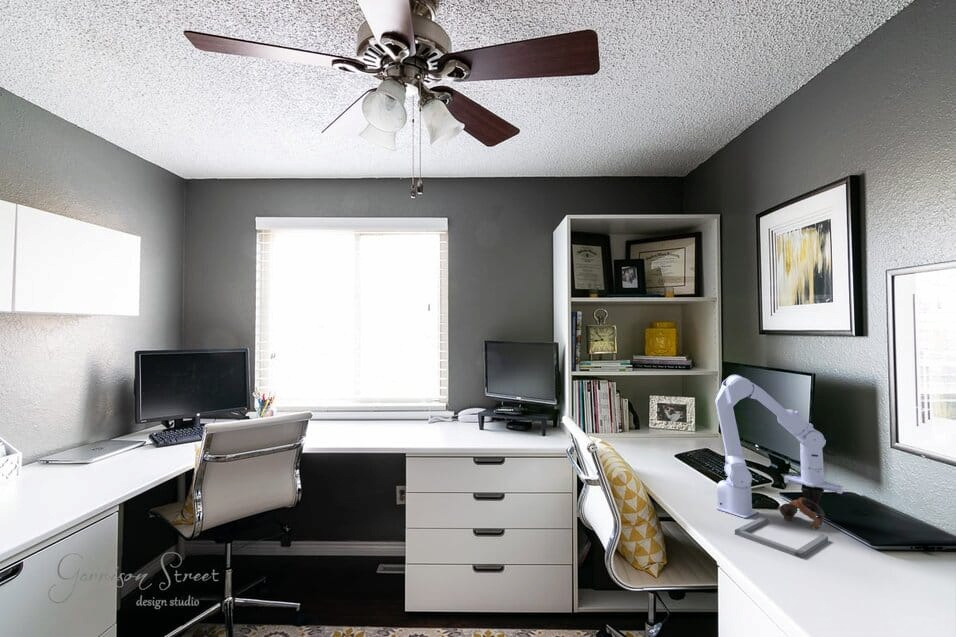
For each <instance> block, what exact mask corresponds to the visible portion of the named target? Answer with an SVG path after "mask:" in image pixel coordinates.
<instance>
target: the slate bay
mask: <svg viewBox="0 0 956 637" xmlns="http://www.w3.org/2000/svg"><path fill="white" fill-rule="evenodd" d="M767 523H769V517H766V516H764V515H763V516H761V517H758V518H756V519H755V520H752V521H750V522H749V523H746V524H744V525H742V526H740V527H738V528H736V529H734V535H736V536H739V537H742V538H744V539H747V540H750V541H753V542H755V543H758V544H762V545H764V546H766V547H770V548H772V549H773V550H774V549H775V550H778V551H780V552H782V553H786V554H789V555H792V556H794V557H797V558H800V559H803V558H804V557H806V556H807V555H809V554H811V553H812V552H813V551H815V550H816V549H819V547H821V546H823V545H824V544H826V543H827V542H829V536H828V535H824V534H821V535H819V536H817V537H816V538H814V539H812V540H810V541H809V542H807V543H805V544H804V545H802V546H800V547H799V548H798V549H797V548H793V547H791V546H789V545H785V544H782V543H780V542H776V541H773V540H771V539H768V538H766V537H765V538H764V537H762V536H759V535H756V534H755V533H754V534H753V533H751V531H753V530H756V529H757V528H759V527H761V526H763V525H765V524H767Z"/></svg>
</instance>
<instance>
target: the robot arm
mask: <svg viewBox="0 0 956 637" xmlns="http://www.w3.org/2000/svg"><path fill="white" fill-rule="evenodd" d="M745 398H749V399H753V400H757V401H758V402H759V403H761V405H763V406H764V407H765V408H767V409H768V410H769V411H770V412H772V413H773V415H775V416H776V419H777V423H778V424H780V425H781V427H783V428H784V429H786V430H787V431H788V432H789V433H790V434H791V435H793V437H795V438H796V440H797V441H798V442H799V443H800V444H799V446H800V447H799V450H800V451H799V456H800V457H799V458H800V459H799V460H800V476H795V475H794V476H792V475H787V474H786V475H785V476H783V478H784V484H785V483H786V484H794V485H800V486H801V488H800V489H801V492H802V493H803V495H804V498H806V499H809V500H811V501H813V502H814V503H816V504H817V505H818V506H819V502H820V500H821V497H822V496H823V494H824V492H825V491H829V492H833V493H837V494H840V495H842V494H843V492H844V491H843V490H844V488H843V485H840V484H836V483H832V482H830V481H825V474H824V453H823V448H824V447H825V446H826V442H827V440H826V439H825V437H824V434H823V433H822V432H820V431H819V430H817V429H815V428H814V425H813V423H810V422H808V421H806V420H805V419H804V418H803V417H801V413H800V412H799V411H798V410H795V411H794V410H793V409H786V408H784V407H783V406H782V405H781V404H780V403H779V402H778V401H776V400H775V399H774V398H773V397H772V396H771V395H769V394H768V392H766V391H765V390H764V388H761V387H760V386H758V385H757V384H755V383H754V382H752V381H751V380H750V379H748V378H746V377H743V376H741V375H739V374H731V375H729V376H728V377H727V378H726V379H724V380H723V381H722V382H721V387H720V389H719V391H718V393H717V395H716V398H715V399H714V400H715V402H714V403H715V407H716V412H717V418H718V422H719V427H720V432H721V437H722V438H721V439H722V442H723V447H724V451H725V453H724V454H725V456H724V459H725V463H724V464H725V465H724V469H723V471H724V473H725V474H726V476H727V477H726V478H725V479H726V480H724V479H722V480H720V481H718V484H717V485H716V486H717V487H716V500H717V501H716V502H717V503H716V504H717V506H716V508H715V509H716V510H718V511H721V512H722V511H723V512H725V513H727V514H731V515H734V516H738V517H741V518H743V519H747V518H749V517H752V516H753V515H755V514H758V510H755V509H753V503H752V482H753V476H752V473H751V471H749V469H748V467H747V463H746V461H745V458H744V456H743V454H744V453H743V450H742V445H741V444H742V443H741V440H740V435H739V431H738V430H739V429H738V424H737V421H736V416H735V410H734V406H735V405H737V403H738V402H739V401H740V400H742V399H745ZM808 507H809V510H811V511H812V512H814V513H815V510H814V507H810V506H808Z"/></svg>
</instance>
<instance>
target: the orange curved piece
mask: <svg viewBox="0 0 956 637" xmlns="http://www.w3.org/2000/svg"><path fill="white" fill-rule="evenodd" d="M809 506H810V507H814V510H815V512H812V511H811V510H810V507H809ZM808 507H809V508H808ZM798 511H799V512H800V513H802V514H803V515H805V516H807V517H808V518H809V519H810V520H812V521H813V523H812V524H811V528H812V529H814V530H817V529H819V526H822V525H823V523H824V517H825V516H826V515H825V511H824V510H823V509H822V507H820V505H819V504H818V505H817V504H816V503H814V502H813V501H811V500H809V499H806V497H798V499H794V500H791V501H790V502H789V503H783V504H782V505H781V506H779V512H780V514H781V516H783V519H784V521H788V522H793V520H794V517H795V515H796V514H797V513H798ZM817 514H818V515H817Z"/></svg>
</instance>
